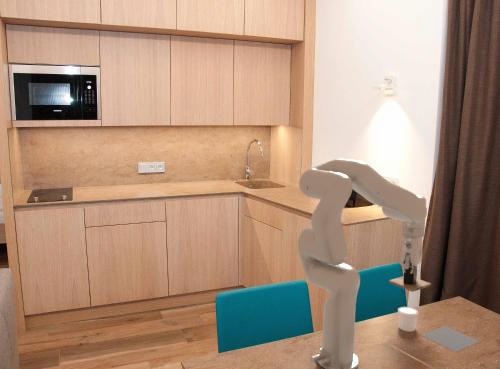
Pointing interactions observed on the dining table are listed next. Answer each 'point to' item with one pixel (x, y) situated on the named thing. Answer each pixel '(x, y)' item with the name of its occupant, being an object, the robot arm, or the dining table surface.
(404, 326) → the pale pink cup
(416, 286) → the lid
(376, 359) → the dining table surface
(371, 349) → the dining table surface
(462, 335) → the mat
